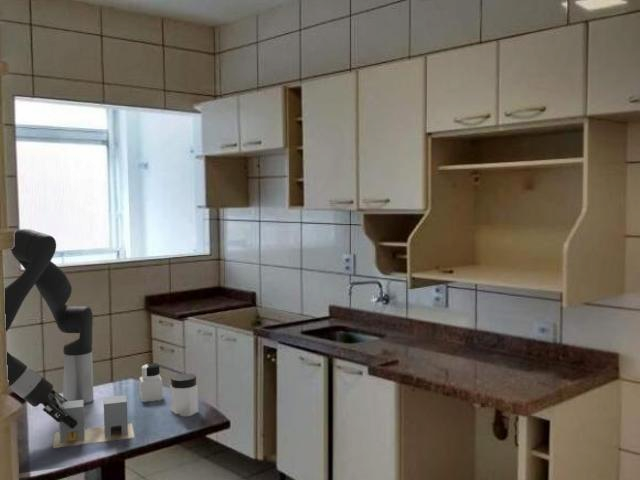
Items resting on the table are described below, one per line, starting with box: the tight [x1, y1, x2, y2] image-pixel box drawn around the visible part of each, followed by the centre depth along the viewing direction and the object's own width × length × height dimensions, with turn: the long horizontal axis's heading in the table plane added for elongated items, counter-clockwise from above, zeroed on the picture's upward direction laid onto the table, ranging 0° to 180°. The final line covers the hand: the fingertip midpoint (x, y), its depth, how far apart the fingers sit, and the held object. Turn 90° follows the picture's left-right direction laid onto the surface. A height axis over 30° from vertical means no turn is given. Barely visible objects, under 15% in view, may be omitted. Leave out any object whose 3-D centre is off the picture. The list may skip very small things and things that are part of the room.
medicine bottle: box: [139, 363, 164, 403], centre depth 223 cm, size 7×7×12 cm
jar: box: [169, 373, 199, 418], centre depth 208 cm, size 9×8×12 cm
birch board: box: [52, 423, 136, 449], centre depth 187 cm, size 22×12×1 cm, turn 110°
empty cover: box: [103, 394, 129, 438], centre depth 189 cm, size 6×6×10 cm
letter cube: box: [67, 431, 78, 441], centre depth 185 cm, size 4×4×4 cm
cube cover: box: [59, 400, 85, 443], centre depth 184 cm, size 6×6×10 cm
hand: (75, 420), depth 185 cm, fingers open, 8 cm apart
